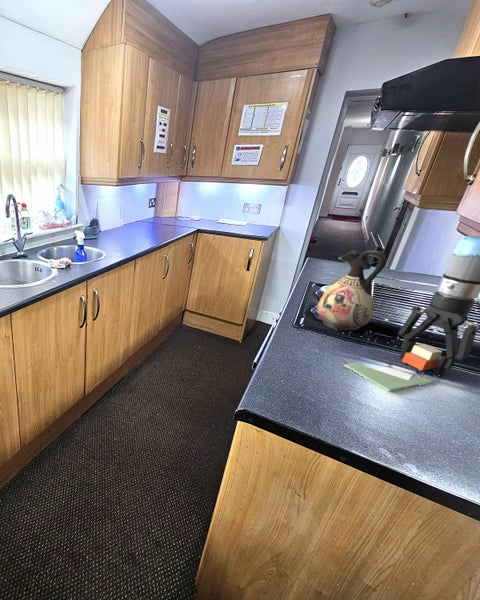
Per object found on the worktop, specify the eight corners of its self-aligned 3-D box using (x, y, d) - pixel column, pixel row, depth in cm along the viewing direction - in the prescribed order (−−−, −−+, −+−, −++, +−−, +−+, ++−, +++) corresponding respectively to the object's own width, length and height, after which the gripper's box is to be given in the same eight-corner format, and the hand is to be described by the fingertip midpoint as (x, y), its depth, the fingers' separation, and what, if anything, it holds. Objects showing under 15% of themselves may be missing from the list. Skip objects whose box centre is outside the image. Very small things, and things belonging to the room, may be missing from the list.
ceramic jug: (304, 325, 121) (328, 246, 109) (323, 315, 128) (348, 240, 116) (359, 345, 108) (394, 258, 96) (377, 332, 115) (411, 250, 103)
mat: (384, 359, 100) (385, 357, 99) (432, 383, 89) (433, 381, 89) (343, 366, 96) (344, 364, 96) (388, 391, 85) (389, 389, 85)
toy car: (419, 375, 92) (430, 354, 90) (399, 365, 97) (409, 345, 94) (439, 371, 94) (450, 350, 92) (419, 362, 99) (428, 342, 96)
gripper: (401, 283, 95) (372, 351, 104) (500, 312, 77) (455, 391, 85) (419, 281, 97) (390, 348, 105) (520, 309, 78) (474, 387, 87)
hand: (419, 367), depth 95 cm, fingers open, 8 cm apart
